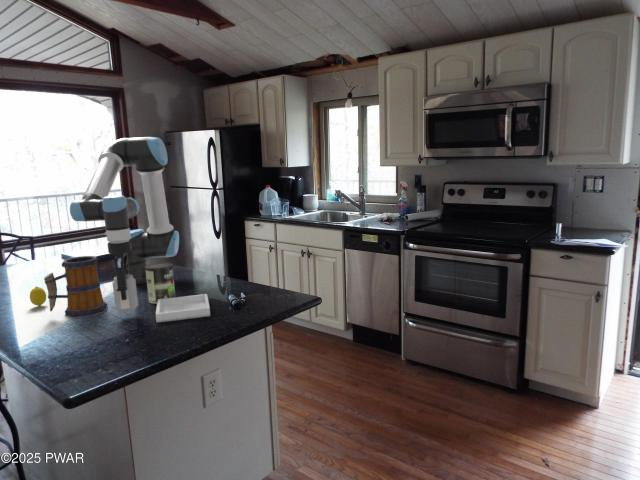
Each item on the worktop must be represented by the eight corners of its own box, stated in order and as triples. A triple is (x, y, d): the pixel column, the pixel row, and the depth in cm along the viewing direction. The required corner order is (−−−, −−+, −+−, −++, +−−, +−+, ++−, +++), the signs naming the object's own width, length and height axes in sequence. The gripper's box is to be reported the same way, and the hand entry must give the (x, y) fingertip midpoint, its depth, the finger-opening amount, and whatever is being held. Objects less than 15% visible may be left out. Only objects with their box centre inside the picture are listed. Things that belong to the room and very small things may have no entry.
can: (133, 312, 166) (129, 278, 163) (112, 313, 166) (107, 279, 164) (141, 305, 173) (138, 273, 171) (121, 305, 173) (117, 273, 171)
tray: (158, 306, 181) (157, 299, 180) (207, 301, 186) (206, 293, 185) (156, 322, 164) (155, 314, 163) (210, 316, 169) (209, 307, 168)
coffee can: (180, 296, 194) (177, 262, 191) (167, 304, 184) (164, 268, 181) (157, 295, 196) (153, 262, 193) (143, 303, 186) (139, 268, 183)
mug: (51, 324, 166) (42, 268, 163) (48, 313, 178) (40, 260, 175) (110, 312, 176) (104, 259, 173) (104, 303, 188) (98, 253, 185)
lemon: (45, 303, 191) (42, 283, 189) (49, 306, 187) (46, 286, 185) (29, 306, 187) (26, 287, 186) (33, 309, 183) (30, 289, 182)
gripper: (111, 236, 173) (118, 297, 178) (102, 247, 154) (111, 315, 159) (133, 234, 175) (140, 294, 180) (127, 245, 156) (135, 312, 161)
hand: (126, 304), depth 169 cm, fingers closed on can, 7 cm apart
